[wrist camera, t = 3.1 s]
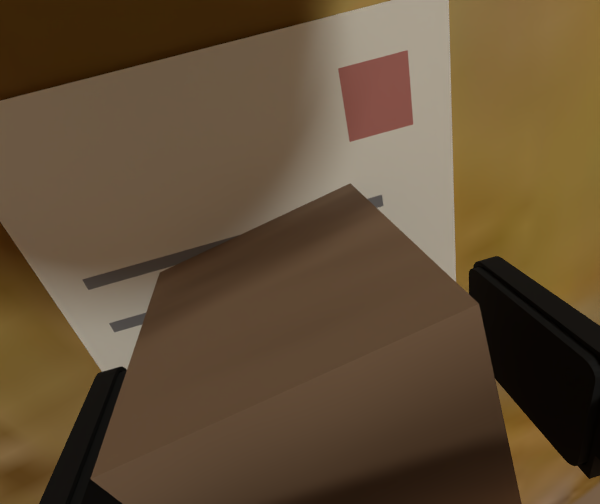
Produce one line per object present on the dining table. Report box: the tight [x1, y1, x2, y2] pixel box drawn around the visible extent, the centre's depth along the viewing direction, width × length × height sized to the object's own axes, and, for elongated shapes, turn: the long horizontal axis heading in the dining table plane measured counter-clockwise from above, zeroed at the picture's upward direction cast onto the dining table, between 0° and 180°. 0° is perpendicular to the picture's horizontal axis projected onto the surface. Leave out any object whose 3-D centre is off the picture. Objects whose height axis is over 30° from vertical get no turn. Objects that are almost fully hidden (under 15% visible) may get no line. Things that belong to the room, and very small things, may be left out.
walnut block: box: [91, 183, 521, 504], centre depth 9 cm, size 6×6×6 cm
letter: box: [0, 0, 456, 372], centre depth 12 cm, size 14×12×1 cm
